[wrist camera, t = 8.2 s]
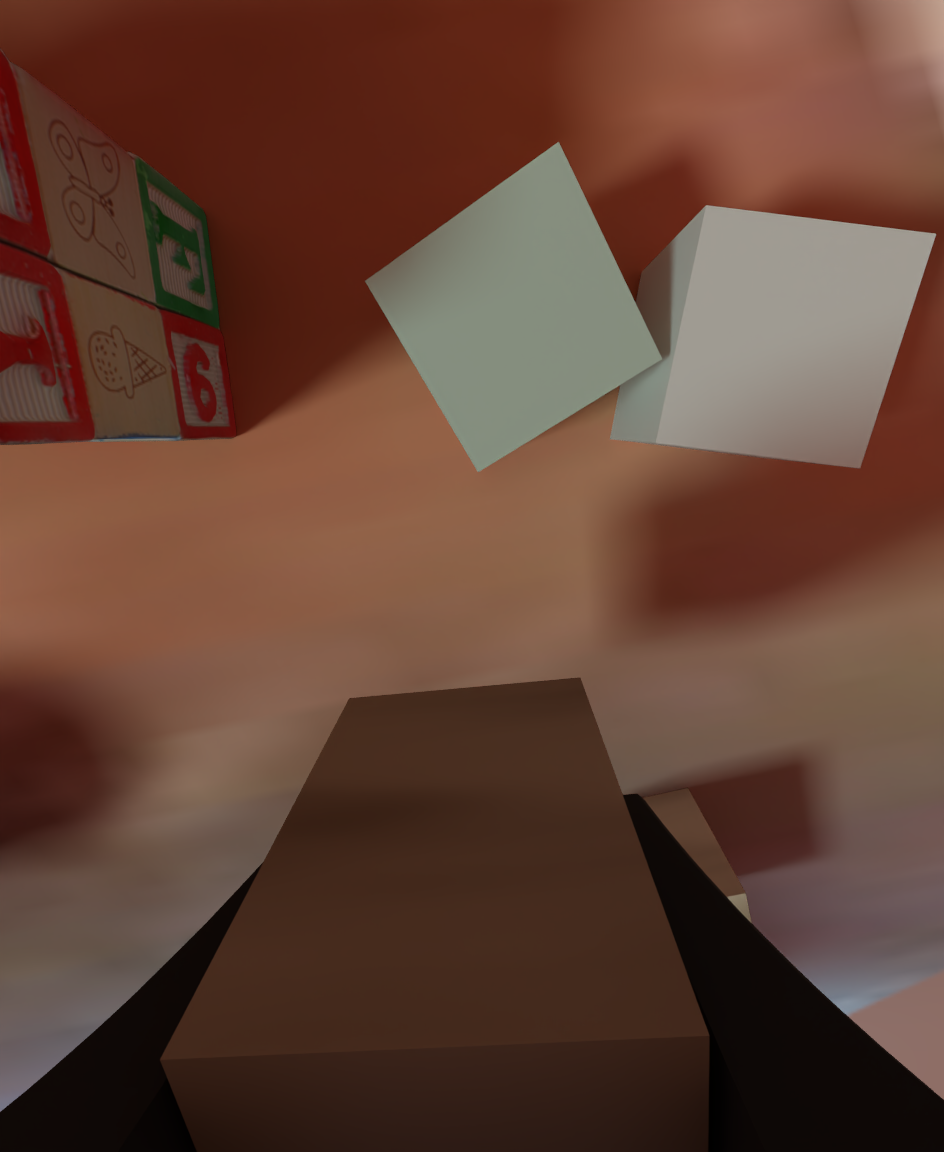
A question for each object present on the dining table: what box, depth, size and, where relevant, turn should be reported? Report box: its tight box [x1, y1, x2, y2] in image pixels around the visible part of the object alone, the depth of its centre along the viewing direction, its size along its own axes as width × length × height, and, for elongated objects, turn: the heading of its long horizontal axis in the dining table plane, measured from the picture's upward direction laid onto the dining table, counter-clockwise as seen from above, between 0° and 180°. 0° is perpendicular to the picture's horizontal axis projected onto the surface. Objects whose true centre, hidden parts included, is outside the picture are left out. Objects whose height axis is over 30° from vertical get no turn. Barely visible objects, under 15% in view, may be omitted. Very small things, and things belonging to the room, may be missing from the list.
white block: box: [610, 205, 936, 468], centre depth 13 cm, size 4×4×4 cm
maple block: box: [643, 788, 752, 923], centre depth 17 cm, size 4×4×4 cm
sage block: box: [365, 142, 662, 472], centre depth 13 cm, size 4×4×4 cm
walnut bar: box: [160, 678, 709, 1152], centre depth 8 cm, size 4×4×6 cm
